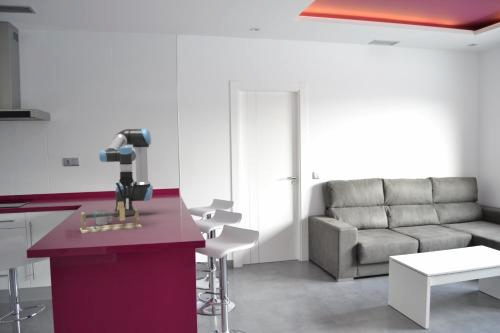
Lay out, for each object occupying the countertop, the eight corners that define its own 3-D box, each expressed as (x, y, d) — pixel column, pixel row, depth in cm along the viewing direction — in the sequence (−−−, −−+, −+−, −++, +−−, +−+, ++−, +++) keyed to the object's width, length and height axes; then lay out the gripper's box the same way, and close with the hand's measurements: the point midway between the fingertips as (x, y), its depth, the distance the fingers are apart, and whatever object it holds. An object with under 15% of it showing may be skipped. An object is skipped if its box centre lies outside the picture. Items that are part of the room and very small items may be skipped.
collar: (119, 220, 234) (119, 202, 234) (117, 218, 241) (116, 201, 241) (124, 220, 236) (124, 202, 235) (122, 218, 243) (121, 201, 242)
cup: (96, 223, 254) (96, 210, 253) (112, 222, 257) (112, 209, 256) (95, 225, 247) (95, 211, 246) (112, 224, 250) (112, 211, 249)
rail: (82, 233, 222) (81, 214, 222) (80, 230, 233) (79, 211, 232) (141, 227, 239) (141, 209, 238) (136, 224, 249) (136, 207, 249)
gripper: (116, 171, 233) (117, 210, 234) (138, 171, 239) (139, 208, 240) (114, 171, 239) (115, 209, 240) (135, 170, 246) (136, 207, 247)
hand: (127, 208), depth 240 cm, fingers closed
